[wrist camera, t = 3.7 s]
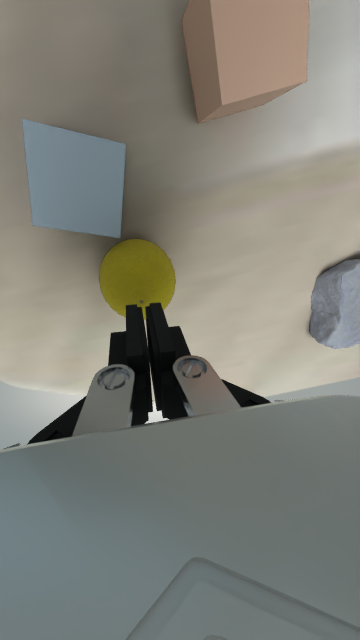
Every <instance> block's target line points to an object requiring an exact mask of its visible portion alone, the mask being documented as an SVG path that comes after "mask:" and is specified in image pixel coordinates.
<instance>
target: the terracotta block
mask: <svg viewBox="0 0 360 640" xmlns="http://www.w3.org/2000/svg"><path fill="white" fill-rule="evenodd" d="M182 26H183V32H184V39H185V45H186V51H187V57H188V64H189V70H190V76H191V82H192V88H193V95H194V101H195V107H196V113H197V120H198V124H199V123H202V122H205V121H209V120H212V119H216V118H219V117H223V116H226V115H230V114H233V113H237V112H240V111H243V110H247V109H250V108H254V107H257V106H261V105H264V104H265V103H267V102H269V101H271V100H273V99H275V98H276V97H278V96H280V95H282V94H284V93H286V92H287V91H289V90H291V89H293V88H295V87H297V86H299V85H300V84H302V83H304V82H306V81H307V59H308V27H309V0H189V2H188V5H187V8H186V11H185V13H184V16H183V19H182Z"/></svg>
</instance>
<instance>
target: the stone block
mask: <svg viewBox="0 0 360 640" xmlns="http://www.w3.org/2000/svg"><path fill="white" fill-rule="evenodd" d="M311 303H312V306H311V309H312V316H311V319H310V334H311V335H312V337H313V338H315V339H316V341H317V342H318V343H320V344H323V345H325V346H327V347H331V348H334V349H337V348H348V347H350V346H354V345H356V344H359V343H360V259H354V260H345V261H343V262H342V263H340V264H338V265H336V266H334V267H332V268H331V269H329V270H327V271H326V272H324V273H323V274H321V275H320V276H319V277H318V278H317V280H316V283H315V287H314V290H313V292H312V296H311Z"/></svg>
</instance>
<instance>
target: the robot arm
mask: <svg viewBox="0 0 360 640" xmlns="http://www.w3.org/2000/svg"><path fill="white" fill-rule="evenodd" d="M145 310H146V325H147V338H146V331H145V325H144V318H143V311H142V307H137V304H133V305H126V331H124V332H114V333H111V338H110V350H109V363H108V366H107V367H104V368H103V369H101V370H99V371H98V372H97V373H96V374H95V376H94V378H93V380H92V383H91V386H90V388H89V391H88V394H87V396H85V397H84V398H83V399H82V400H80V401H79V402H78V403H77V404H75V405H74V406H72V407H71V408H70V409H69V410H67V411H66V412H65V413H63V414H62V415H61V416H59V417H58V418H57V419H56V420H54V421H53V422H52V423H50V424H49V425H48V426H46V427H45V428H44V429H43V430H41V431H40V432H39V433H38V434H36V435H35V436H34V437H33V438H32V439H31V440H30V441H29V443H28V444H27V445H23V446H21V444H20V443H19V444H16V445H13V446H10V447H7V448H4V449H2V450H0V640H360V396H349V395H331V396H318V397H310V398H303V399H294V400H288V401H282V400H281V401H280V400H275V402H274V403H271V402H270V401H269V400H267V399H265V398H263V397H261V396H259V395H257V394H254V393H252V392H250V391H248V390H245V389H243V388H241V387H238V386H236V385H234V384H231V383H229V382H227V381H225V380H222V379H220V377H219V376H218V375H217V373H216V372H215V370H214V369H213V368H212V366H211V365H210V363H209V362H208V361H207V360H205V359H204V358H202V357H199V356H193V355H191V354H190V352H189V349H188V346H187V344H186V341H185V339H184V336H183V334H182V331H181V328H180V327H179V326H175V327H168V324H167V321H166V318H165V315H164V311H163V308H162V305H161V302H158V303H149V306H145ZM147 339H148V345H147ZM149 361H150V362H149ZM150 368H151V375H152V382H153V388H154V395H155V402H156V409H157V411H161V410H162V416H163V418H168V419H170V420H166V421H159V422H153V423H148V424H145V423H146V421H148V412H153V406H152V392H151V377H150Z"/></svg>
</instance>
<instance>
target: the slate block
mask: <svg viewBox="0 0 360 640" xmlns="http://www.w3.org/2000/svg"><path fill="white" fill-rule="evenodd" d="M22 125H23V135H24V145H25V154H26V164H27V174H28V184H29V194H30V203H31V213H32V223H33V226H39V227H46V228H53V229H60V230H67V231H74V232H81V233H88V234H95V235H102V236H109V237H116V238H120V234H121V217H122V201H123V184H124V168H125V151H126V144H123V143H119V142H115V141H111V140H107V139H103V138H99V137H95V136H91V135H87V134H83V133H78V132H74V131H70V130H66V129H62V128H58V127H54V126H50V125H46V124H42V123H38V122H34V121H30V120H26V119H22Z"/></svg>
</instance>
